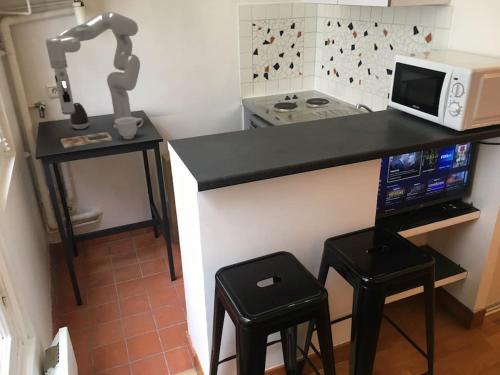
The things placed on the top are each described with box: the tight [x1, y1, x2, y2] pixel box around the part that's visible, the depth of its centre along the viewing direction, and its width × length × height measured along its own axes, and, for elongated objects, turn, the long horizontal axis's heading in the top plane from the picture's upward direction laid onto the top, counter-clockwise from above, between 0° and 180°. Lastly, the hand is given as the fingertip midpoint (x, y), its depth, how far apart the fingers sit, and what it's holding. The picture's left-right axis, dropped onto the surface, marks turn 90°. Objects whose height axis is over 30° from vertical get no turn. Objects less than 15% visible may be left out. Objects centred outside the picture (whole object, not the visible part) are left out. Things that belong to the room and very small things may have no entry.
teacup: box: [114, 116, 144, 140], centre depth 229 cm, size 12×15×10 cm
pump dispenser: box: [69, 102, 90, 130], centre depth 246 cm, size 10×10×15 cm
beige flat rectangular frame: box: [60, 131, 113, 149], centre depth 227 cm, size 24×12×1 cm, turn 119°
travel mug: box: [54, 74, 75, 116], centre depth 213 cm, size 6×7×20 cm
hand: (66, 100), depth 215 cm, fingers closed on travel mug, 6 cm apart
